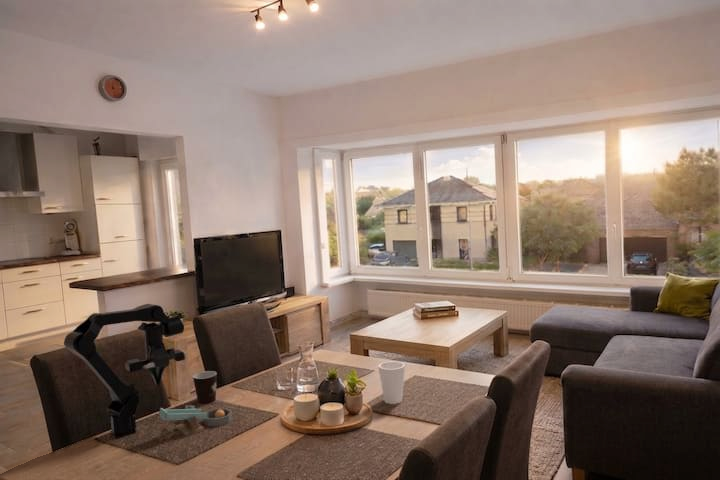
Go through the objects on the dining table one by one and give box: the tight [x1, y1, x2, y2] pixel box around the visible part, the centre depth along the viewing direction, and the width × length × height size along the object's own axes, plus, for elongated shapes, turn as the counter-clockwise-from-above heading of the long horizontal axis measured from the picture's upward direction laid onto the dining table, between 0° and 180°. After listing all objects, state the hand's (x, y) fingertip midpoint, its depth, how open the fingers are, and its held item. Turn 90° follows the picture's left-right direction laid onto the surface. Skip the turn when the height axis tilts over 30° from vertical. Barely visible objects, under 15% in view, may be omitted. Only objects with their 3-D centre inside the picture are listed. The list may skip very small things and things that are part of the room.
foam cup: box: [378, 360, 406, 405], centre depth 190 cm, size 10×9×13 cm
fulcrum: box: [157, 416, 205, 441], centre depth 172 cm, size 13×8×5 cm, turn 129°
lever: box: [158, 405, 207, 421], centre depth 176 cm, size 14×13×3 cm
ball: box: [215, 410, 225, 418], centre depth 181 cm, size 3×3×3 cm
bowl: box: [202, 408, 233, 427], centre depth 180 cm, size 9×9×2 cm
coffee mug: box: [192, 370, 218, 405], centre depth 200 cm, size 12×9×10 cm
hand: (157, 384), depth 184 cm, fingers closed
